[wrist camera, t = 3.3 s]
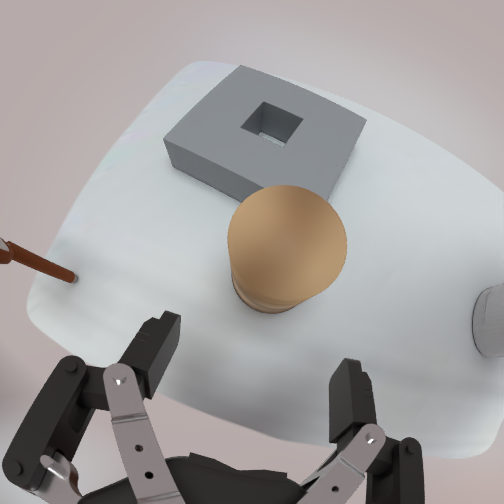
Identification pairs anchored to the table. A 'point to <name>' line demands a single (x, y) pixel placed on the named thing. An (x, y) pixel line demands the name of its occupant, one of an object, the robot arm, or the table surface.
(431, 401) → the table surface
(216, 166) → the board
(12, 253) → the magnifying glass
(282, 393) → the table surface
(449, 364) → the table surface
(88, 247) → the table surface
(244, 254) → the peg
